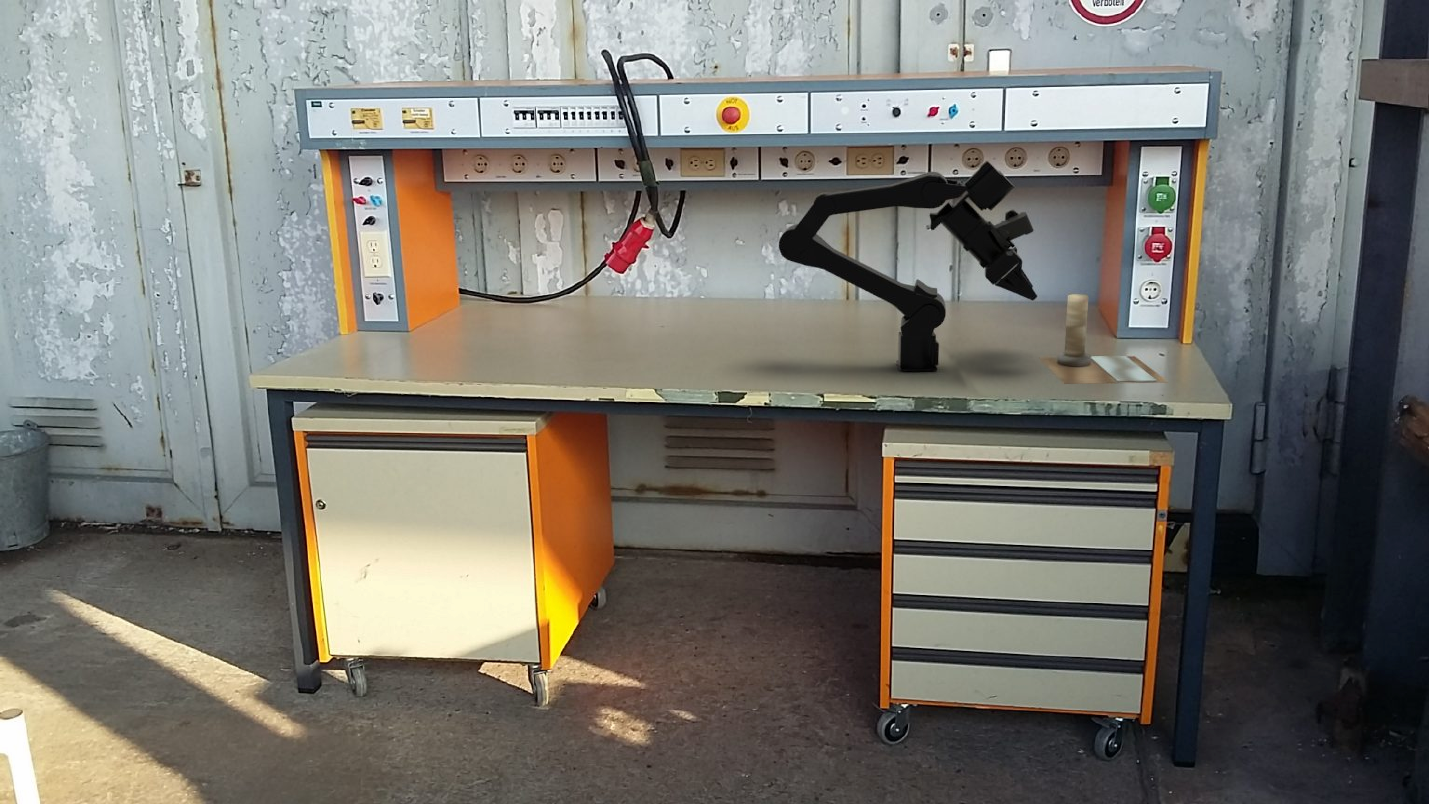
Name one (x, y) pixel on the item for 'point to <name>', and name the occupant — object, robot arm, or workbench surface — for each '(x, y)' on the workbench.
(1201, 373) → the workbench surface
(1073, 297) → the post
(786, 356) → the workbench surface
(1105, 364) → the board
